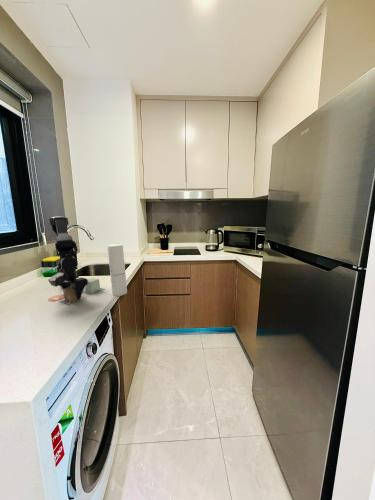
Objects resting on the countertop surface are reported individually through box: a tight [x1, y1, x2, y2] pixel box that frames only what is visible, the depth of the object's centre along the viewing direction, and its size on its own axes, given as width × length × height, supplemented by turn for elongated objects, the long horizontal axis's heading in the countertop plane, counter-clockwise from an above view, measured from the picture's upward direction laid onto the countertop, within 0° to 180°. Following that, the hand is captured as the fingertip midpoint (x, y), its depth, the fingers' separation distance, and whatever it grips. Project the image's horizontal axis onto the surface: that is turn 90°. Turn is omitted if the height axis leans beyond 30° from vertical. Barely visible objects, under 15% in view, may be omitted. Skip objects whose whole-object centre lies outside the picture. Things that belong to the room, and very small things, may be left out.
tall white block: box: [107, 243, 128, 297], centre depth 101 cm, size 7×7×25 cm
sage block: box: [84, 277, 101, 293], centre depth 107 cm, size 5×5×6 cm
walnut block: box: [62, 285, 81, 303], centre depth 96 cm, size 5×5×6 cm
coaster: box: [47, 294, 65, 302], centre depth 100 cm, size 8×8×1 cm
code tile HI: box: [82, 287, 106, 296], centre depth 108 cm, size 9×9×1 cm
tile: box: [58, 295, 88, 306], centre depth 97 cm, size 9×9×1 cm
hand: (72, 297), depth 97 cm, fingers open, 9 cm apart
